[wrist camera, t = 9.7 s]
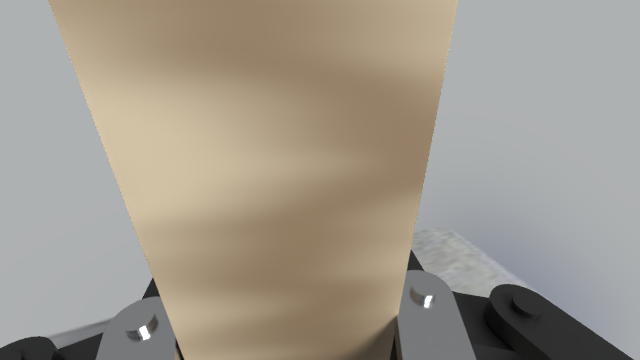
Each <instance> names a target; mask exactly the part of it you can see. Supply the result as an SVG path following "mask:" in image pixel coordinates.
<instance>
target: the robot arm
mask: <svg viewBox="0 0 640 360" xmlns="http://www.w3.org/2000/svg"><path fill="white" fill-rule="evenodd" d="M0 360H184V358H183V355H182V352H181V350H180V347H179V344H178V342H177V339H176V336H175V334H174V331H173V328H172V326H171V323H170V320H169V318H168V315H167V313H166V310H165V307H164V305H163V302H162V299H161V297H160V294H159V291H158V289H157V286H156V283H155V281H154V278H152V280H151V282H150V284H149V286H148V288H147V290H146V292H145V294H144V296H143V298H142V300H139V301H137V302H135V303H133V304H131V305H129V306H128V307H126V308H125V309H123V310H122V311H121V312H119V313H118V314H117V315H116V316H115V317H114V318H113V319H112V320H111V321H110V323H109V324H108V325H107V327H106V329H105V331H104V332H103V333H101V334H98V335H96V336H93V337H90V338H88V339H85V340H82V341H79V342H77V343H74V344H71V345H68V346H66V347H63V348H60V349H57V348H56V346H55V345H54V344H53V342H52V341H51V340H50V339H48V338H46V337H40V336H38V337H29V338H25V339H21V340H18V341H16V342H13V343H11V344H8V345H6V346H4V347H2V348H0ZM390 360H633V359H632V358H631V357H629V356H628V355H626V354H625V353H623V352H622V351H620V350H619V349H618V348H616V347H615V346H613V345H612V344H610V343H608V342H607V341H606V340H604V339H603V338H602V337H600V336H599V335H597V334H595V333H594V332H593V331H591V330H590V329H589V328H587V327H586V326H584V325H583V324H581V323H580V322H578V321H577V320H576V319H574V318H573V317H571V316H570V315H568V314H567V313H565V312H564V311H563V310H561V309H560V308H558V307H557V306H555V305H554V304H552V303H551V302H550V301H548V300H547V299H545V298H544V297H542V296H541V295H539V294H537V293H536V292H534V291H532V290H529V289H527V288H524V287H521V286H517V285H511V284H503V285H499V286H496V287H495V288H494V289H493V290H492V291H491V294H490V296H489V298H486V297H480V296H474V295H468V294H462V293H457V292H454V291H451V289H450V288H449V286H448V285H447V284H446V283H445V282H444V281H443V280H442V279H440V278H439V277H437V276H435V275H433V274H431V273H429V272H425V271H424V270H423V268H422V266H421V265H420V263H419V261H418V260H417V258H416V257H415V255H414V253H413V252H412V250H411V251H410V256H409V261H408V266H407V271H406V277H405V282H404V287H403V292H402V298H401V303H400V308H399V313H398V315H397V318H396V323H395V328H394V339H393V344H392V350H391V355H390Z"/></svg>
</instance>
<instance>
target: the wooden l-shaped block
mask: <svg viewBox="0 0 640 360" xmlns="http://www.w3.org/2000/svg"><path fill="white" fill-rule="evenodd" d="M49 3H50V6H51V8H52V11H53V14H54V16H55V19H56V22H57V24H58V27H59V30H60V32H61V35H62V37H63V40H64V43H65V46H66V48H67V51H68V53H69V56H70V59H71V61H72V64H73V67H74V69H75V72H76V74H77V77H78V80H79V82H80V85H81V88H82V90H83V93H84V96H85V98H86V101H87V104H88V106H89V109H90V112H91V114H92V117H93V120H94V122H95V125H96V128H97V130H98V133H99V135H100V138H101V141H102V143H103V146H104V149H105V151H106V154H107V156H108V159H109V162H110V165H111V167H112V170H113V172H114V175H115V178H116V180H117V183H118V185H119V188H120V191H121V194H122V196H123V199H124V201H125V204H126V207H127V209H128V212H129V215H130V217H131V220H132V223H133V225H134V228H135V231H136V233H137V236H138V239H139V241H140V244H141V246H142V249H143V252H144V254H145V257H146V260H147V262H148V265H149V267H150V270H151V273H152V276H153V278H154V281H155V283H156V286H157V289H158V291H159V294H160V297H161V299H162V302H163V305H164V307H165V310H166V313H167V315H168V318H169V320H170V323H171V326H172V328H173V331H174V334H175V336H176V339H177V342H178V344H179V347H180V350H181V352H182V355H183V358H184V360H390V355H391V350H392V344H393V339H394V328H395V323H396V318H397V315H398V313H399V308H400V303H401V298H402V292H403V287H404V282H405V277H406V271H407V266H408V261H409V256H410V251H411V245H412V240H413V235H414V229H415V224H416V219H417V214H418V209H419V203H420V198H421V193H422V188H423V183H424V178H425V172H426V167H427V162H428V157H429V151H430V146H431V141H432V136H433V131H434V125H435V120H436V115H437V110H438V104H439V99H440V94H441V89H442V83H443V78H444V73H445V68H446V63H447V57H448V52H449V47H450V42H451V37H452V31H453V26H454V21H455V16H456V10H457V5H458V0H49Z"/></svg>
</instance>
